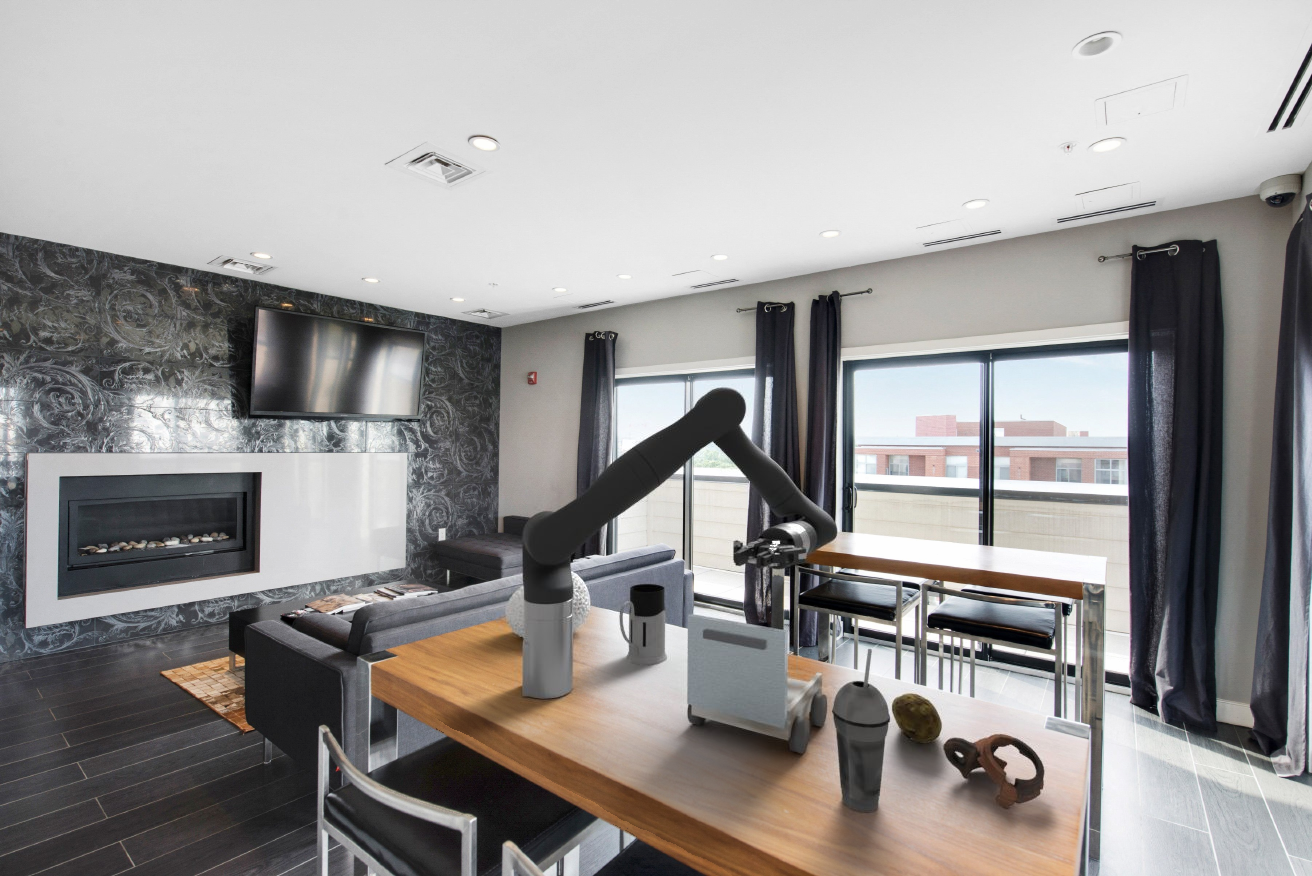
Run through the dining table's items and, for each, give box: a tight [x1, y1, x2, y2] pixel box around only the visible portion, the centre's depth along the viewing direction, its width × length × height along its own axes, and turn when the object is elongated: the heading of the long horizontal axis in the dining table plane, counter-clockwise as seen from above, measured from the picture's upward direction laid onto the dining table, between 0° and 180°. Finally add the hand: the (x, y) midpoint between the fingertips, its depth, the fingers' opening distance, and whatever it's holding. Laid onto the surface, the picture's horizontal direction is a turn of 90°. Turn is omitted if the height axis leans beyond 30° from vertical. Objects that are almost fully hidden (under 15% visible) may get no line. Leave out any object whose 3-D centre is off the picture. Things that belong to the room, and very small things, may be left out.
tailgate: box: [686, 613, 789, 729], centre depth 93 cm, size 2×16×14 cm, turn 59°
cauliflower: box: [504, 570, 592, 639], centre depth 146 cm, size 20×18×16 cm
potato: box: [891, 692, 943, 744], centre depth 97 cm, size 8×13×8 cm, turn 140°
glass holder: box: [618, 583, 668, 666], centre depth 130 cm, size 9×14×15 cm, turn 148°
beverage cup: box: [831, 648, 891, 813], centre depth 80 cm, size 7×7×20 cm
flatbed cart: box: [686, 672, 828, 755], centre depth 102 cm, size 18×19×7 cm
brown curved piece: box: [942, 733, 1045, 809], centre depth 83 cm, size 12×10×8 cm
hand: (748, 560), depth 98 cm, fingers open, 3 cm apart
